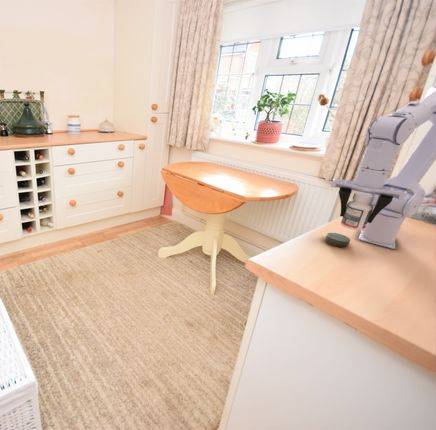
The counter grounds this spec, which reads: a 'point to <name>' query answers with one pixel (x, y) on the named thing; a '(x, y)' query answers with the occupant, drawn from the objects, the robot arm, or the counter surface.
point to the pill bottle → (358, 212)
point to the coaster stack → (337, 240)
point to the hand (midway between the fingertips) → (355, 218)
